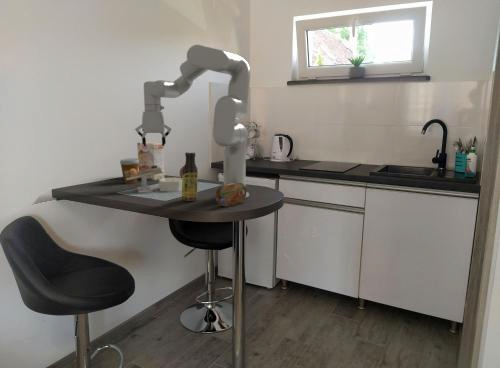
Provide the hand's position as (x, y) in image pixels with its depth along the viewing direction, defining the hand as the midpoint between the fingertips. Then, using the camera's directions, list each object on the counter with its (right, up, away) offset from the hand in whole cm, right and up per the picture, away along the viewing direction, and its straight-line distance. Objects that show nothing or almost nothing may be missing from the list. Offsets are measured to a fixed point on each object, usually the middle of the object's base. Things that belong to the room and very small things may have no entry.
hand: (154, 145), depth 177 cm
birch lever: (-4, -14, -4) cm, 15 cm away
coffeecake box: (-9, -15, +30) cm, 35 cm away
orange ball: (-7, -13, -9) cm, 17 cm away
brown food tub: (-16, -18, +15) cm, 28 cm away
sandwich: (+39, -27, -30) cm, 56 cm away
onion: (+14, -18, +17) cm, 28 cm away
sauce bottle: (+21, -25, -24) cm, 41 cm away
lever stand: (-3, -21, -6) cm, 22 cm away
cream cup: (+9, -21, -1) cm, 23 cm away
